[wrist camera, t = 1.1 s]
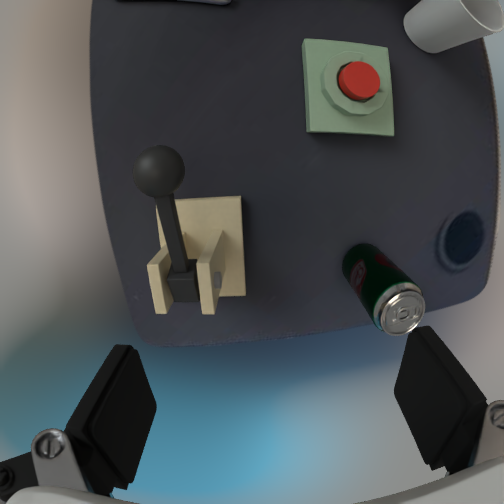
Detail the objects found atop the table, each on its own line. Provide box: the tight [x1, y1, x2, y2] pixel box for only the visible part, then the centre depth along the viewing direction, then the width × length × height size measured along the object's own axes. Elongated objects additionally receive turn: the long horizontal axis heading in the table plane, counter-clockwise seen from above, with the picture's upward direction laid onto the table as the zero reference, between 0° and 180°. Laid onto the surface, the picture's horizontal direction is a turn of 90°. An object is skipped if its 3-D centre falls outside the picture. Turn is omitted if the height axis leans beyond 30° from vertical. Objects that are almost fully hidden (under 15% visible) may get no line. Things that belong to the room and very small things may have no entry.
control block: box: [302, 39, 394, 136], centre depth 26 cm, size 10×9×4 cm
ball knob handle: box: [133, 145, 200, 302], centre depth 22 cm, size 13×3×3 cm, turn 2°
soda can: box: [342, 244, 425, 336], centre depth 28 cm, size 5×5×12 cm
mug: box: [404, 0, 504, 53], centre depth 18 cm, size 10×7×12 cm, turn 156°
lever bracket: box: [147, 196, 246, 314], centre depth 28 cm, size 11×9×11 cm
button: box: [339, 61, 380, 100], centre depth 23 cm, size 4×4×2 cm
